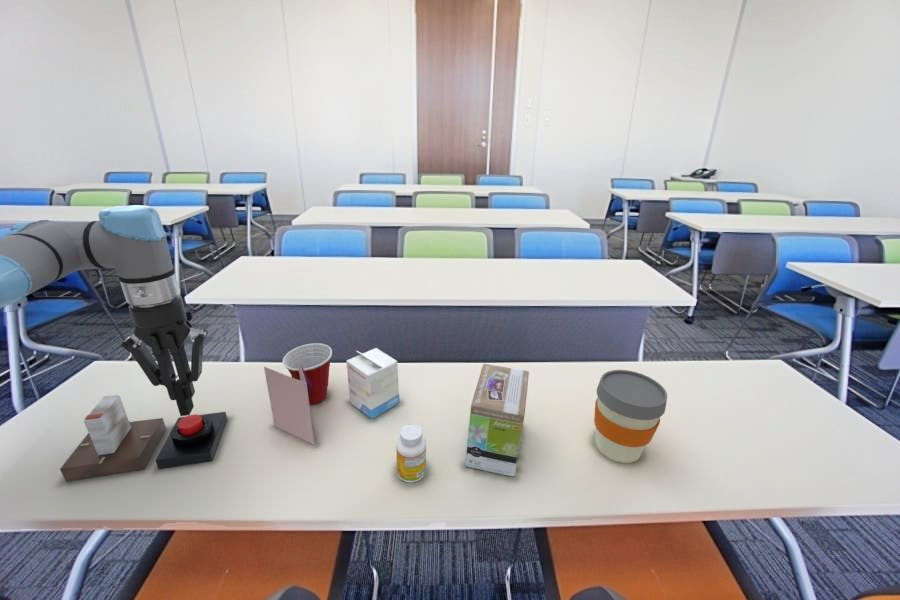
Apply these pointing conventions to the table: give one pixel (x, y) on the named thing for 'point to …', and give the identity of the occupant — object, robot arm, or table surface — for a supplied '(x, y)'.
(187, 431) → the button
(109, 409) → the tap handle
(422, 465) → the supplement bottle
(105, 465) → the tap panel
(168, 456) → the button block
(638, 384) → the reusable coffee cup
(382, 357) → the ink box
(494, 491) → the table surface
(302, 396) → the greeting card
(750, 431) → the table surface
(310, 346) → the plastic cup
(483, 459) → the tea box
